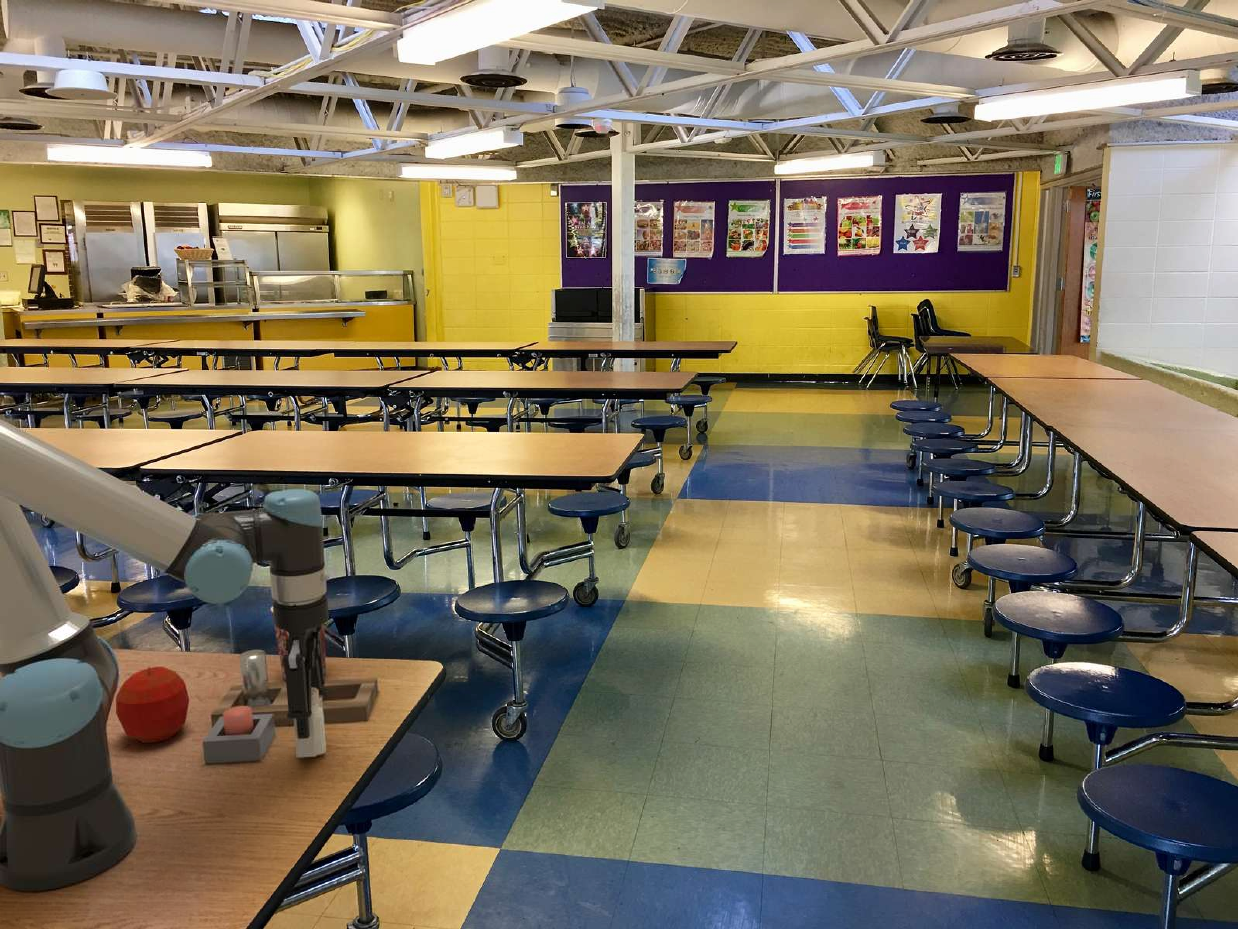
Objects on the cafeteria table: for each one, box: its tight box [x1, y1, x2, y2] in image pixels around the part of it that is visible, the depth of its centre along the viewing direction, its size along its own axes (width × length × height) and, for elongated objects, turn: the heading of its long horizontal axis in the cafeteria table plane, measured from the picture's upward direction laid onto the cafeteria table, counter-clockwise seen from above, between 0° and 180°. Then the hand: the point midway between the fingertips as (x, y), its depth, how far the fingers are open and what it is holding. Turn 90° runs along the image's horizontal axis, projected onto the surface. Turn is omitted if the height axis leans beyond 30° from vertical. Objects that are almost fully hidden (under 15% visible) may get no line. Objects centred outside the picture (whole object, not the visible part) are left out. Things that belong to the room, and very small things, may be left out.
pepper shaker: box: [301, 687, 327, 758], centre depth 140 cm, size 4×4×10 cm
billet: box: [238, 649, 272, 707], centre depth 154 cm, size 4×4×10 cm
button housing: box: [202, 714, 276, 765], centre depth 143 cm, size 8×8×4 cm
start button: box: [223, 705, 254, 736], centre depth 142 cm, size 4×4×5 cm
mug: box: [270, 605, 327, 683], centre depth 166 cm, size 13×9×14 cm
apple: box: [115, 666, 190, 744], centre depth 146 cm, size 10×10×12 cm
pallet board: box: [210, 677, 379, 729], centre depth 155 cm, size 11×24×2 cm, turn 95°
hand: (311, 746), depth 140 cm, fingers closed on pepper shaker, 5 cm apart
